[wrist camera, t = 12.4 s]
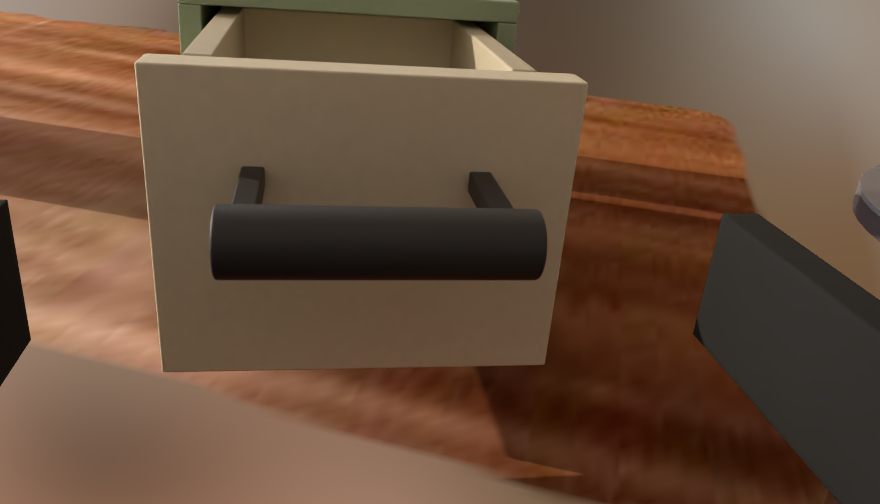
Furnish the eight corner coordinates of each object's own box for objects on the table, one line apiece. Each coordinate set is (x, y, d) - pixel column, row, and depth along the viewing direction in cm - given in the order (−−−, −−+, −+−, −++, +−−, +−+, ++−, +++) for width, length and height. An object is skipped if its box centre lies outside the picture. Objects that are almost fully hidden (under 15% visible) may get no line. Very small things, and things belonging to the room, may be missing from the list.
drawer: (599, 475, 19) (669, 135, 15) (121, 496, 17) (73, 114, 13) (466, 207, 36) (485, 14, 32) (216, 203, 34) (206, -3, 30)
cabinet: (491, 254, 33) (520, 2, 29) (193, 252, 31) (175, -20, 27) (441, 154, 46) (456, -30, 42) (229, 148, 44) (221, -46, 40)
